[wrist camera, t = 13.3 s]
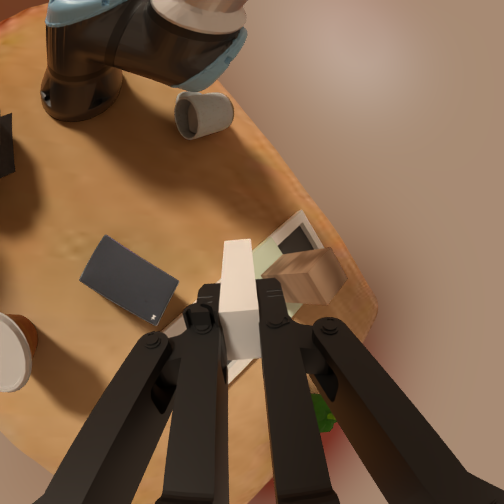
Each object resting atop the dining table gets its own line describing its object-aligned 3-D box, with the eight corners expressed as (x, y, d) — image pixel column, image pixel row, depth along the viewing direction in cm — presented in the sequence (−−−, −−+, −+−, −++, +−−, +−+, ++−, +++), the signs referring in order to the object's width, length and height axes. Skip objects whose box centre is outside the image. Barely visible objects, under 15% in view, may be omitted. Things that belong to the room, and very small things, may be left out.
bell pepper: (319, 413, 54) (352, 427, 45) (291, 427, 50) (323, 445, 41) (318, 382, 54) (353, 393, 46) (288, 395, 50) (323, 410, 42)
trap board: (212, 393, 42) (216, 396, 41) (156, 334, 39) (158, 336, 38) (329, 266, 59) (334, 266, 57) (296, 211, 55) (301, 209, 54)
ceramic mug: (224, 135, 48) (244, 114, 42) (186, 147, 44) (203, 126, 38) (200, 92, 47) (216, 68, 40) (162, 101, 43) (175, 75, 36)
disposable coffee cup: (58, 354, 31) (44, 381, 20) (12, 375, 26) (-11, 404, 16) (31, 293, 30) (5, 298, 19) (-14, 316, 25) (-49, 327, 15)
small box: (163, 280, 41) (183, 280, 32) (143, 318, 38) (157, 329, 30) (104, 243, 37) (105, 231, 28) (83, 281, 34) (76, 282, 25)
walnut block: (278, 301, 49) (327, 305, 39) (260, 275, 48) (307, 272, 37) (298, 280, 52) (347, 278, 42) (282, 254, 50) (330, 247, 40)
